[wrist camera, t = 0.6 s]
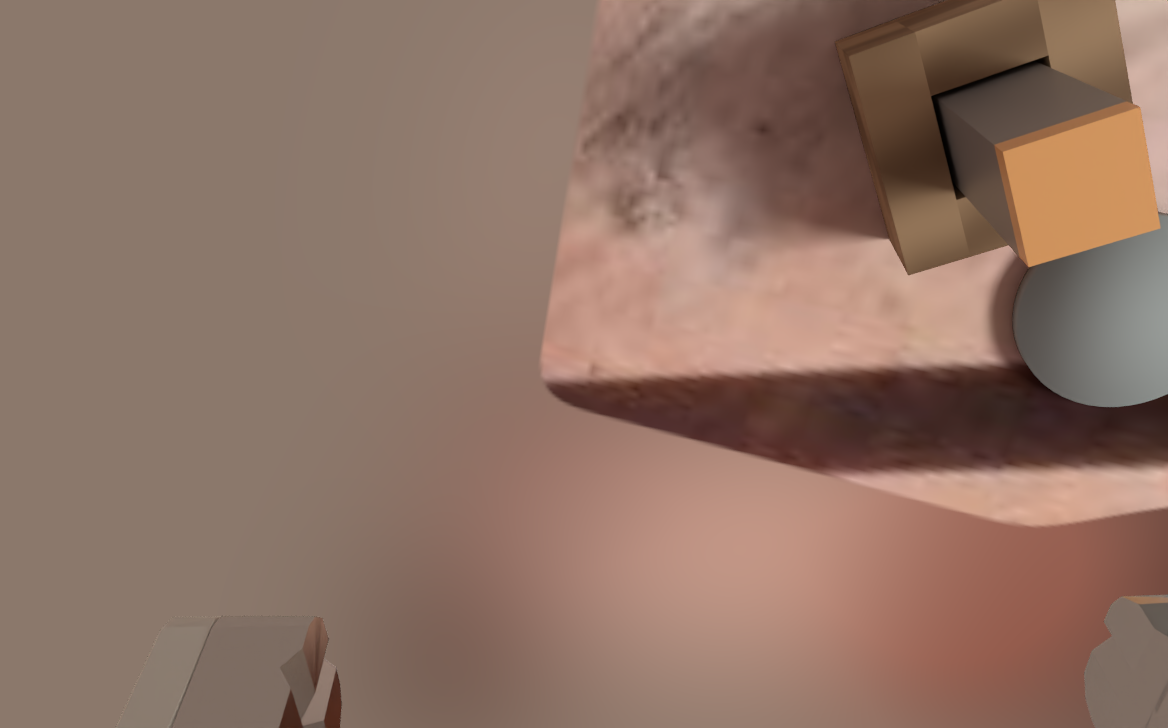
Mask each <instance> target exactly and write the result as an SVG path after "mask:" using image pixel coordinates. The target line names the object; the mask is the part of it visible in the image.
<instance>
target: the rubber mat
mask: <svg viewBox="0 0 1168 728" xmlns="http://www.w3.org/2000/svg"><path fill="white" fill-rule="evenodd" d="M1158 216H1159V222H1160V229H1157V230H1154V231H1150V232H1147V233H1143V234H1140V235H1137V236H1133V237H1130V238H1126V239H1123V240H1120V241H1116V242H1113V243H1109V244H1106V245H1103V246H1099V247H1096V248H1092V249H1089V250H1086V251H1082V252H1079V253H1075V254H1072V255H1069V256H1065V257H1062V258H1058V259H1055V260H1052V261H1048V262H1045V263H1041V264H1038V265H1035V266H1031V267H1030V268H1029V269H1028V271H1027V273H1026V274H1025V276H1024V278H1023V280H1022V282H1021V284H1020V286H1019V289H1018V291H1017V295H1016V298H1015V302H1014V308H1013V332H1014V338H1015V341H1016V345H1017V348H1018V350H1019V352H1020V354H1021V356H1022V358H1023V360H1024V361H1025V362H1026V364H1027V365H1028V367H1029V368H1030V370H1031V371H1032V372H1033V374H1034V375H1035V376H1036V377H1037V378H1038V379H1039V380H1040V381H1041V382H1042V383H1043V384H1044V385H1045V386H1046V387H1048V388H1049V389H1050V390H1052V391H1053V392H1055V393H1057V394H1059V395H1060V396H1062V397H1064V398H1067V399H1069V400H1072V401H1075V402H1078V403H1082V404H1086V405H1092V406H1100V407H1119V406H1129V405H1134V404H1139V403H1144V402H1147V401H1150V400H1153V399H1157V398H1159V397H1161V396H1164V395H1166V394H1168V214H1165V213H1161V212H1158Z"/></svg>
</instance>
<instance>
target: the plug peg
mask: <svg viewBox="0 0 1168 728" xmlns="http://www.w3.org/2000/svg"><path fill="white" fill-rule="evenodd" d="M931 99H932V103H933V107H934V111H935V115H936V119H937V123H938V127H939V132H940V136H941V140H942V144H943V148H944V152H945V156H946V160H947V164H948V168H949V172H950V176H951V180H952V182H953V183H954V184H955V186H956V187H957V188H958V189H959V190H960V191H961V192H962V193H963V194H964V196H965V197H966V198H967V199H968V200H969V201H970V202H971V203H972V205H973V206H974V207H975V208H976V209H977V210H978V211H979V212H980V213H981V215H982V216H983V217H984V218H985V219H986V220H987V221H988V222H989V224H990V225H991V226H992V227H993V228H994V229H995V230H996V231H997V232H998V234H999V235H1000V236H1001V237H1002V238H1003V239H1004V240H1005V241H1006V243H1007V244H1008V245H1009V246H1010V247H1011V248H1012V249H1013V250H1014V252H1015V253H1016V254H1017V255H1018V256H1019V257H1020V258H1021V259H1022V260H1023V262H1024V263H1025V264H1026V265H1027V266H1028V267H1031V266H1035V265H1038V264H1041V263H1045V262H1048V261H1052V260H1055V259H1058V258H1062V257H1065V256H1069V255H1072V254H1075V253H1079V252H1082V251H1086V250H1089V249H1092V248H1096V247H1099V246H1103V245H1106V244H1109V243H1113V242H1116V241H1120V240H1123V239H1126V238H1130V237H1133V236H1137V235H1140V234H1143V233H1147V232H1150V231H1154V230H1157V229H1160V222H1159V216H1158V210H1157V204H1156V198H1155V192H1154V186H1153V180H1152V174H1151V168H1150V162H1149V157H1148V151H1147V145H1146V139H1145V133H1144V127H1143V121H1142V115H1141V109H1140V107H1139V106H1137V105H1134V104H1132V103H1130V102H1127V101H1125V100H1123V99H1121V98H1118V97H1116V96H1114V95H1111V94H1109V93H1107V92H1105V91H1102V90H1100V89H1098V88H1095V87H1093V86H1091V85H1089V84H1086V83H1084V82H1082V81H1080V80H1077V79H1075V78H1073V77H1070V76H1068V75H1066V74H1064V73H1061V72H1059V71H1057V70H1054V69H1052V68H1050V67H1048V66H1045V65H1043V64H1041V63H1038V62H1036V61H1031V62H1028V63H1025V64H1022V65H1019V66H1016V67H1013V68H1011V69H1008V70H1005V71H1002V72H999V73H996V74H993V75H990V76H988V77H985V78H982V79H979V80H976V81H973V82H970V83H967V84H964V85H962V86H959V87H956V88H953V89H950V90H947V91H944V92H941V93H939V94H936V95H933V96H931Z"/></svg>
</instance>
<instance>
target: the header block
mask: <svg viewBox="0 0 1168 728" xmlns="http://www.w3.org/2000/svg"><path fill="white" fill-rule="evenodd" d="M835 44H836V48H837V51H838V55H839V59H840V62H841V66H842V70H843V73H844V77H845V81H846V84H847V88H848V91H849V95H850V99H851V102H852V106H853V110H854V113H855V117H856V120H857V124H858V128H859V131H860V135H861V139H862V142H863V146H864V149H865V153H866V157H867V160H868V164H869V168H870V171H871V175H872V178H873V182H874V186H875V189H876V193H877V197H878V200H879V204H880V207H881V211H882V215H883V218H884V222H885V226H886V229H887V233H888V236H889V240H890V242H891V243H892V245H893V247H894V249H895V251H896V253H897V255H898V257H899V258H900V260H901V262H902V264H903V266H904V268H905V270H906V272H907V274H908V275H911V274H914V273H918V272H921V271H924V270H928V269H931V268H934V267H938V266H941V265H944V264H948V263H951V262H954V261H958V260H961V259H964V258H968V257H971V256H974V255H978V254H981V253H984V252H987V251H991V250H994V249H997V248H1001V247H1004V246H1007V245H1008V244H1007V243H1006V241H1005V240H1004V239H1003V238H1002V237H1001V236H1000V235H999V234H998V232H997V231H996V230H995V229H994V228H993V227H992V226H991V225H990V224H989V222H988V221H987V220H986V219H985V218H984V217H983V216H982V215H981V213H980V212H979V211H978V210H977V209H976V208H975V207H974V206H973V205H972V203H971V202H970V201H969V200H968V199H967V198H966V197H965V196H964V194H963V193H962V192H961V191H960V190H959V189H958V188H957V187H956V186H955V184H954V183H953V182H952V180H951V176H950V172H949V168H948V164H947V160H946V156H945V152H944V148H943V144H942V140H941V136H940V132H939V127H938V123H937V119H936V115H935V111H934V107H933V103H932V99H931V96H933V95H936V94H939V93H941V92H944V91H947V90H950V89H953V88H956V87H959V86H962V85H964V84H967V83H970V82H973V81H976V80H979V79H982V78H985V77H988V76H990V75H993V74H996V73H999V72H1002V71H1005V70H1008V69H1011V68H1013V67H1016V66H1019V65H1022V64H1025V63H1028V62H1031V61H1036V62H1038V63H1041V64H1043V65H1045V66H1048V67H1050V68H1052V69H1054V70H1057V71H1059V72H1061V73H1064V74H1066V75H1068V76H1070V77H1073V78H1075V79H1077V80H1080V81H1082V82H1084V83H1086V84H1089V85H1091V86H1093V87H1095V88H1098V89H1100V90H1102V91H1105V92H1107V93H1109V94H1111V95H1114V96H1116V97H1118V98H1121V99H1123V100H1125V101H1127V102H1130V103H1132V104H1133V102H1132V97H1131V91H1130V85H1129V79H1128V73H1127V67H1126V62H1125V56H1124V50H1123V44H1122V38H1121V32H1120V27H1119V21H1118V15H1117V9H1116V3H1115V0H946V1H943V2H940V3H938V4H935V5H932V6H930V7H927V8H924V9H922V10H919V11H916V12H913V13H911V14H908V15H905V16H903V17H900V18H897V19H895V20H892V21H889V22H886V23H884V24H881V25H878V26H876V27H873V28H870V29H868V30H865V31H862V32H859V33H857V34H854V35H851V36H849V37H846V38H843V39H841V40H838V41H835Z"/></svg>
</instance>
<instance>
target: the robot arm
mask: <svg viewBox="0 0 1168 728" xmlns="http://www.w3.org/2000/svg"><path fill="white" fill-rule="evenodd" d="M1104 623H1105V624H1106V626H1107V628H1108V630H1109V632H1110V633H1111V635H1112V637H1110V638H1109V639H1107V640H1106V641H1105V642H1103V643H1102V644H1100V645H1099V646H1098V647H1096V648H1095V649H1093V650H1092V652H1091V655H1090V658H1089V661H1088V664H1087V666H1086V669H1085V672H1084V676H1085V699H1086V702H1087V706H1088V709H1089V712H1090V716H1091V719H1092V722H1093V724H1094V726H1095V728H1168V595H1146V596H1122V597H1120V598H1119V599H1118V600H1116V601H1115V602H1114V603H1112V604H1111V606H1110V608H1109V611H1108V613H1107V615H1106V618H1105V620H1104ZM328 641H329V638H328V635H327V631H326V628H325V625H324V621H323V618H321V617H316V616H221V617H172V618H171V619H170V620H169V621H168V622H167V623H166V624H165V626H164V627H163V628H162V629H161V630H160V632H159V634H158V636H157V638H156V640H155V642H154V645H153V647H152V649H151V651H150V653H149V655H148V658H147V660H146V662H145V664H144V666H143V669H142V671H141V673H140V675H139V677H138V680H137V682H136V684H135V686H134V688H133V691H132V693H131V695H130V697H129V699H128V702H127V704H126V706H125V708H124V710H123V712H122V715H121V717H120V719H119V721H118V723H117V726H116V728H340V722H341V709H342V701H341V688H340V681H339V677H338V673H337V668H336V667H335V666H333V665H332V664H331V663H329V662H328V661H327V660H326V659H324V657H325V653H326V649H327V645H328Z"/></svg>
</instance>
